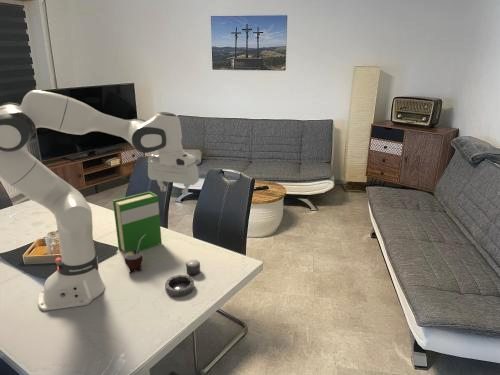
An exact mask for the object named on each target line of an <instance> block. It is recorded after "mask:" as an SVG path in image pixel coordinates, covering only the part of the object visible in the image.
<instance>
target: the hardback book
mask: <svg viewBox="0 0 500 375" xmlns="http://www.w3.org/2000/svg"><path fill="white" fill-rule="evenodd" d="M112 204H113V212H114V213H113V214H114V221H115V230H116V238H117V245H118V250H119V251H123V252H124V255H125V254H126V253H127V252H128V251H129V250H133V249H136V250H137V248H138V244H139V240H140V239H141V238H142V237H143V236H144V235H145V234H146V235H145V236H144V237H143V238H142V240H141V243H140V245H139V249H138V250H139V251H140V252H141V251H144V250H147V249H150V248H152V247H155V246H158V245H160V244H161V245H162V242H163V241H162V233H161V232H162V230H161V219H160V218H161V217H160V208H159V207H160V205H159V196H158V194H156V193H154V192H152V191H151V190H150V191H145V192H142V193H137V194H133V195H129V196H125V197H121V198H117V199H114V200H112Z"/></svg>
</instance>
